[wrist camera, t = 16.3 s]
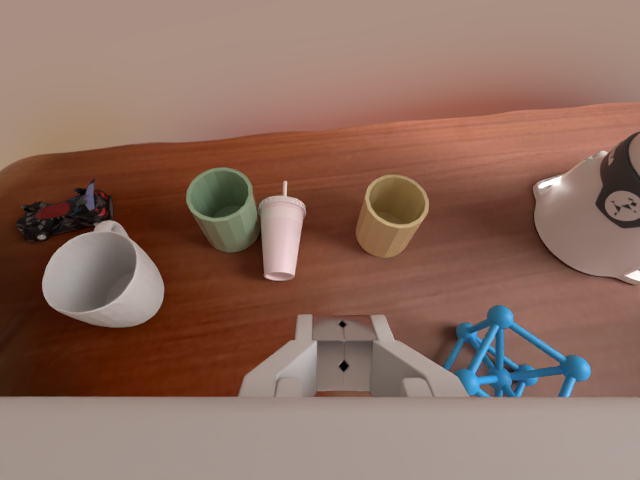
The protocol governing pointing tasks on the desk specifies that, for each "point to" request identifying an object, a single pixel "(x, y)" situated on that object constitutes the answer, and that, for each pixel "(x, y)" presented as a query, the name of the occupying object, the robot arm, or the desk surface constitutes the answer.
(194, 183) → the sage cup
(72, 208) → the toy car
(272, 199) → the smoothie
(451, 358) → the molecular structure
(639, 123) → the desk surface
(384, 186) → the tan cup
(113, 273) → the mug
